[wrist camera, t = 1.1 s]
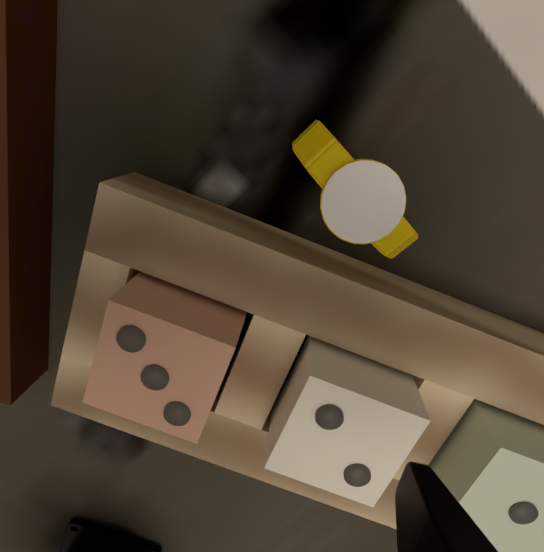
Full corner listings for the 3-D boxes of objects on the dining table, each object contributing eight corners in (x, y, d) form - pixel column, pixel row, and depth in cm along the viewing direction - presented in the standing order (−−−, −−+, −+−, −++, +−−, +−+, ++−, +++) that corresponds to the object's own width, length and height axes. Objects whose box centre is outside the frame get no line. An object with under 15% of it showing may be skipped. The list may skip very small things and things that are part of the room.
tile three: (214, 392, 21) (196, 446, 17) (118, 357, 20) (80, 404, 17) (248, 308, 19) (235, 349, 16) (143, 268, 19) (106, 301, 15)
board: (492, 514, 25) (519, 573, 22) (85, 365, 24) (50, 404, 21) (617, 361, 21) (673, 406, 18) (134, 171, 20) (99, 182, 16)
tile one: (506, 500, 22) (543, 571, 18) (417, 467, 21) (438, 534, 18) (565, 429, 20) (618, 493, 16) (469, 392, 20) (502, 450, 16)
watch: (284, 155, 19) (265, 159, 14) (330, 110, 18) (330, 95, 13) (369, 250, 20) (384, 292, 14) (417, 211, 19) (453, 239, 14)
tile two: (363, 447, 21) (373, 510, 18) (271, 413, 21) (263, 471, 17) (410, 369, 19) (431, 423, 16) (309, 331, 19) (309, 377, 16)
